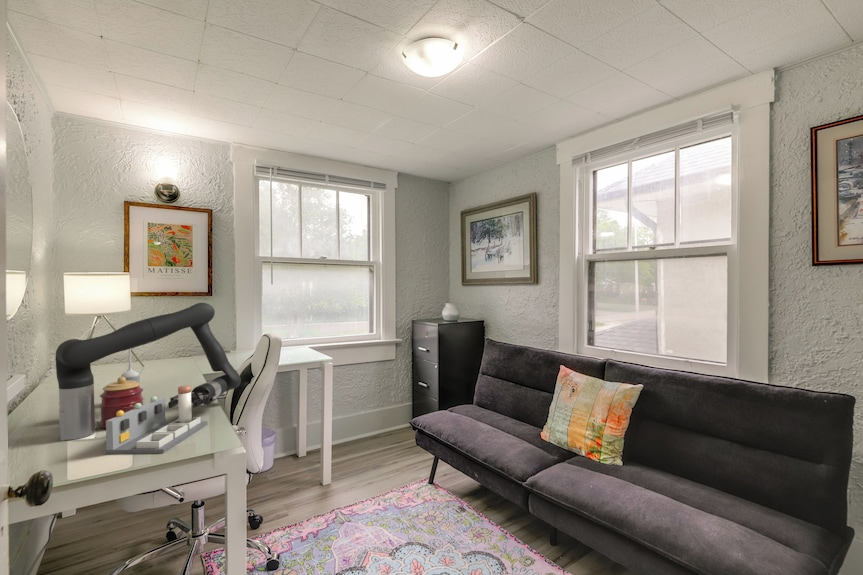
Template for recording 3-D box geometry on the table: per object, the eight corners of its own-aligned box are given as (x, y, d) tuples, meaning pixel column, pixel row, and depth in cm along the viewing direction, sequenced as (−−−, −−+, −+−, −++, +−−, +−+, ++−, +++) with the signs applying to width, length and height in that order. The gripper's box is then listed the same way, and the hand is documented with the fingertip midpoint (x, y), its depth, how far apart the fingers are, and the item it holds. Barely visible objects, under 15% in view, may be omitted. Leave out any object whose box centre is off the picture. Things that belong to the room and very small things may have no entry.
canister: (120, 431, 146) (119, 381, 146) (91, 428, 149) (89, 380, 149) (152, 418, 159) (151, 373, 159) (124, 417, 162) (123, 372, 161)
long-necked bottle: (131, 406, 175) (129, 348, 174) (114, 406, 176) (112, 348, 176) (147, 401, 183) (145, 345, 182) (130, 400, 184) (129, 345, 184)
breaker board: (163, 453, 127) (162, 414, 127) (105, 453, 127) (104, 415, 127) (207, 424, 152) (206, 392, 152) (158, 425, 152) (158, 392, 152)
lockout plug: (180, 428, 144) (179, 388, 144) (177, 425, 147) (176, 387, 147) (193, 425, 147) (192, 386, 147) (189, 423, 150) (189, 384, 150)
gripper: (188, 383, 162) (161, 394, 145) (224, 382, 162) (201, 394, 145) (188, 402, 162) (161, 416, 145) (225, 401, 162) (202, 415, 145)
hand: (181, 405), depth 145 cm, fingers open, 8 cm apart
